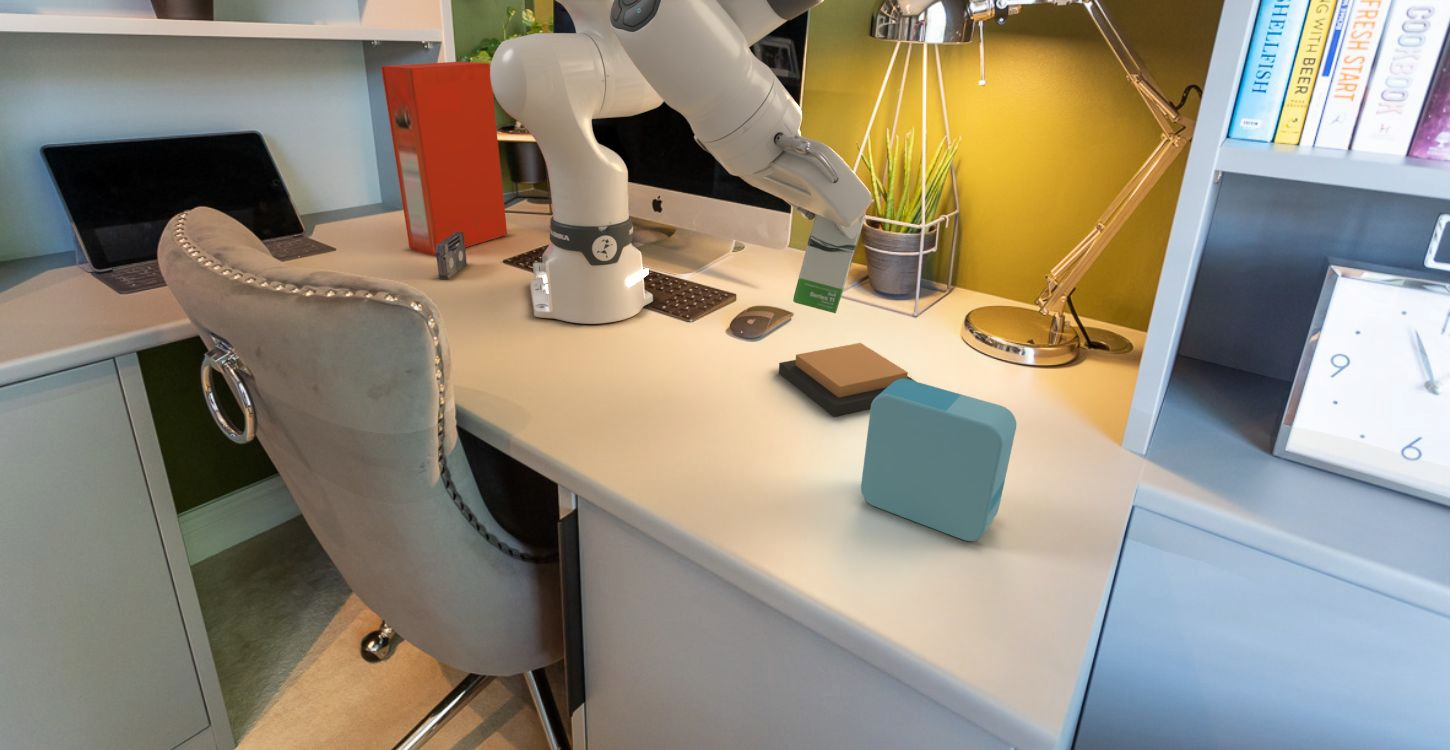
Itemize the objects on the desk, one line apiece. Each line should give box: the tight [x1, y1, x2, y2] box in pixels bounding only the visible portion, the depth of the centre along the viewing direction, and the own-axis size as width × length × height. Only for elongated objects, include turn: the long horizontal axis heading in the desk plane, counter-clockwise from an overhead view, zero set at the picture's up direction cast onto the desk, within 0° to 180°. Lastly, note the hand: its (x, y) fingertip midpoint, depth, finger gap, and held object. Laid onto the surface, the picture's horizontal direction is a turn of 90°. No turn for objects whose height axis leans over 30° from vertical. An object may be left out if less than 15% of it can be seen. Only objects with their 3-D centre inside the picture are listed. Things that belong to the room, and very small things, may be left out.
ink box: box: [792, 209, 868, 314], centre depth 83 cm, size 9×5×12 cm, turn 168°
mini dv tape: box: [435, 232, 468, 280], centre depth 133 cm, size 8×2×6 cm, turn 175°
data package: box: [860, 379, 1017, 542], centre depth 72 cm, size 12×4×12 cm, turn 56°
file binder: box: [380, 61, 508, 257], centre depth 144 cm, size 8×17×32 cm, turn 150°
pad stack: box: [778, 342, 916, 418], centre depth 98 cm, size 13×13×3 cm
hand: (831, 222), depth 81 cm, fingers closed on ink box, 6 cm apart
